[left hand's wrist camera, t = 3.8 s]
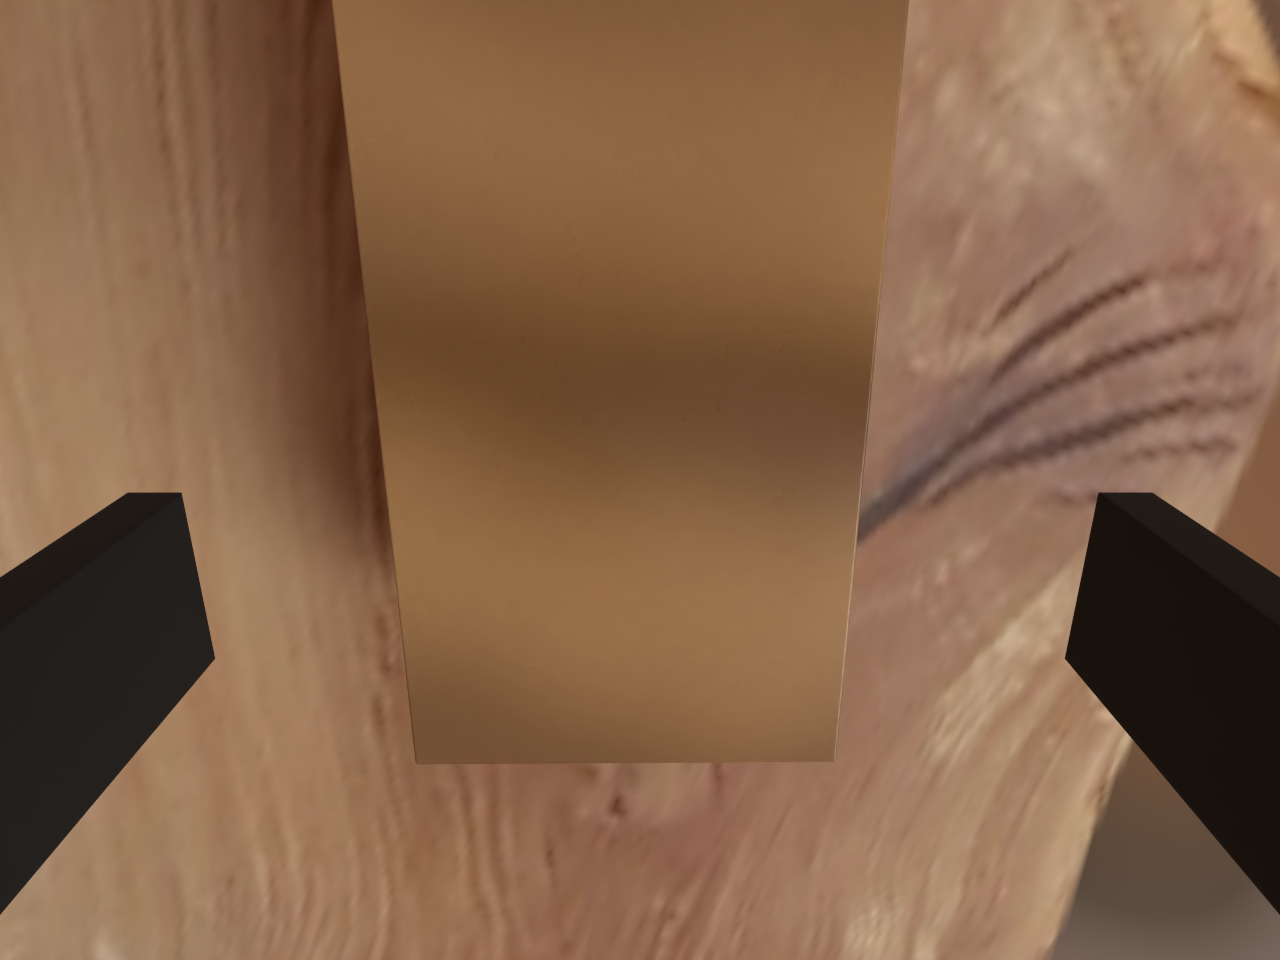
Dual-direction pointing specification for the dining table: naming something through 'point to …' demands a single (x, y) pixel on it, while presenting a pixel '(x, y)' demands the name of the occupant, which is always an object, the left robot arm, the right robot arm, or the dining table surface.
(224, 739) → the dining table surface
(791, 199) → the long beam
